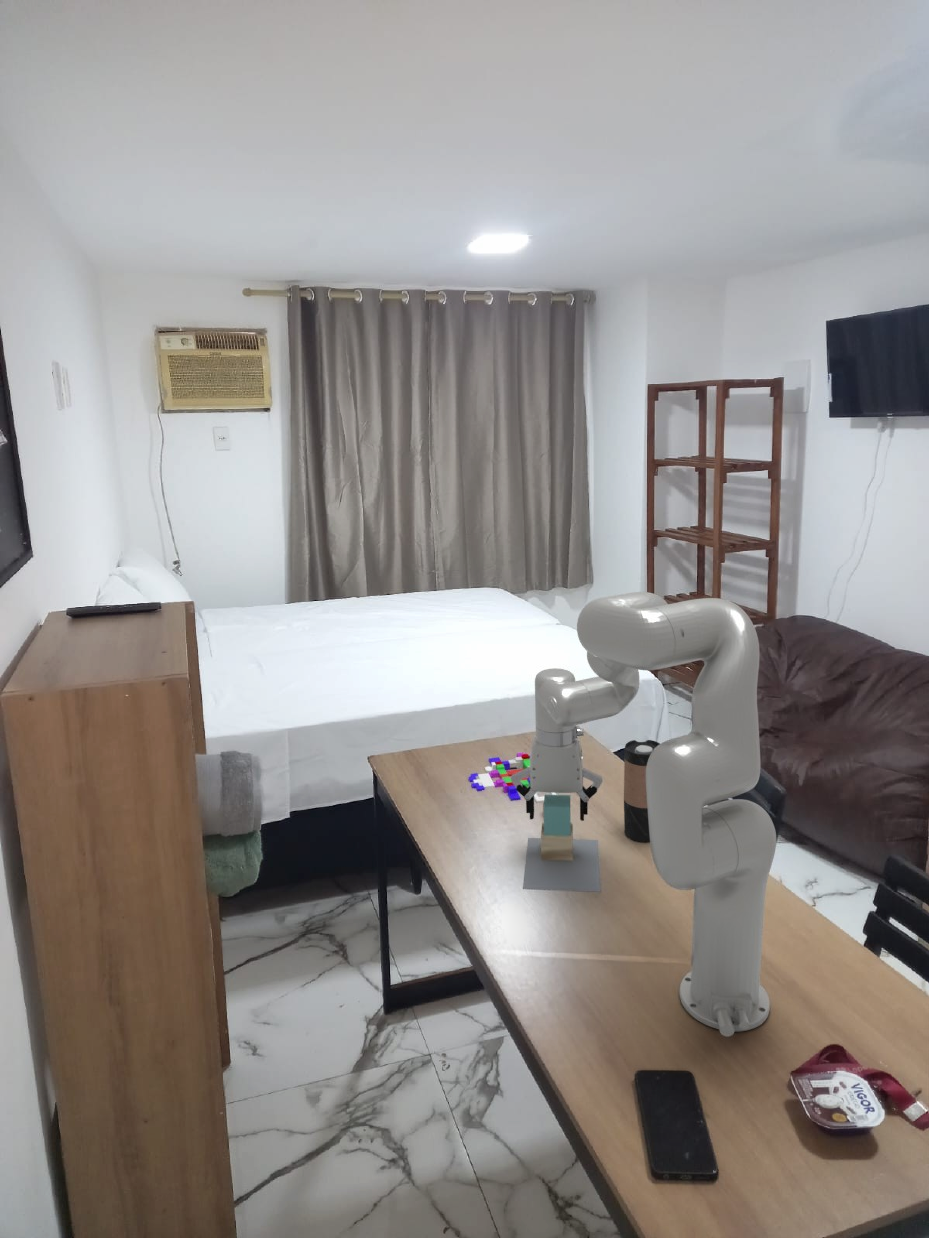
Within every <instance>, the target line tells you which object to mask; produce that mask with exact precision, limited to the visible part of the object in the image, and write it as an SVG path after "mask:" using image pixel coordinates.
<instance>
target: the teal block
mask: <svg viewBox="0 0 929 1238" xmlns="http://www.w3.org/2000/svg"><path fill="white" fill-rule="evenodd" d="M543 796H544V814H543V821H544V835H556V836H570V832H571V822H572V820H571V818H572V817H571V795H570V794H557V795H551V794H544V795H543Z"/></svg>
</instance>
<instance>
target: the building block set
mask: <svg viewBox="0 0 929 1238" xmlns="http://www.w3.org/2000/svg"><path fill="white" fill-rule="evenodd" d="M488 761H489V764H490V765H491V766H485V767H484V771H485V772H486V773H479V774H478V773H477V772H476V773H475V772H474V773H470V776H468V778H467V779H468V781H470V782H469V783H471V784H470V786H471V788H472V789H473V788H474V789H476V791H477V792H483V791H482V790H488V789H495V788H502V792H503V793H504V794H507V796H508V797H509V800H510V801H511V802H512V801H521V795H520V793H519V792H518V791H517V790H516V787H515V786H514V784H513V782H512V781H511V776H512V775H513V774H515V773H517V772H519V771H521V770H524V769H526V768H528V767H530V754H529V753H527V752H525V753H524V752H517V753H516V757H514V759H507V760H501V758H500V757H489V758H488ZM511 768H516V769H511ZM495 778H496V779H495ZM497 778H499V779H497ZM492 779H495V781H493V780H492ZM520 781H521V783H522V784H523V785H525V786H526V787H528V786H529V785H530V776H528V777H526V778H524V779H522V780H520ZM549 793H550V794H549ZM541 794H549V795H558V794H557V793H552V792H536V793H535V795H534V802H536V804H541V803H542V804H543V800H544V796H545V795H543V796H539V795H541Z"/></svg>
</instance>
